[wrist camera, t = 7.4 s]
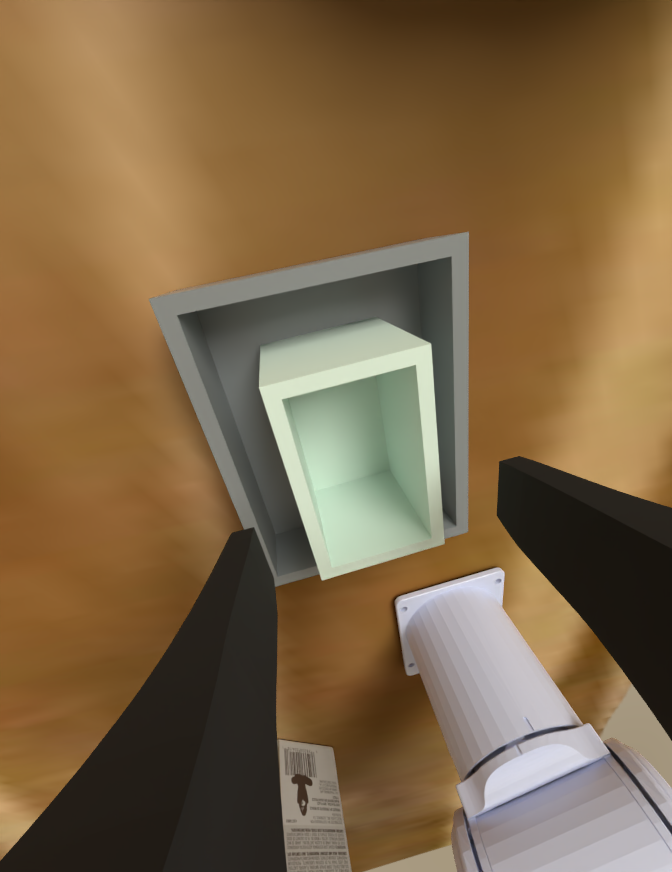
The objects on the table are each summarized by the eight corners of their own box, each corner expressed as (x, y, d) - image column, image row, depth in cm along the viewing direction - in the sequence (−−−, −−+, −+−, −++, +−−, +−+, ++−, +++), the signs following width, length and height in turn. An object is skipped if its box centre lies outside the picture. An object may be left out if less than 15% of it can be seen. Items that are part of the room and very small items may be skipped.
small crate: (397, 470, 18) (444, 543, 14) (306, 495, 18) (321, 580, 13) (375, 316, 15) (431, 343, 10) (260, 345, 14) (259, 387, 9)
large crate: (437, 491, 20) (467, 532, 17) (267, 537, 20) (268, 588, 17) (424, 238, 14) (468, 231, 11) (175, 290, 13) (148, 298, 10)
